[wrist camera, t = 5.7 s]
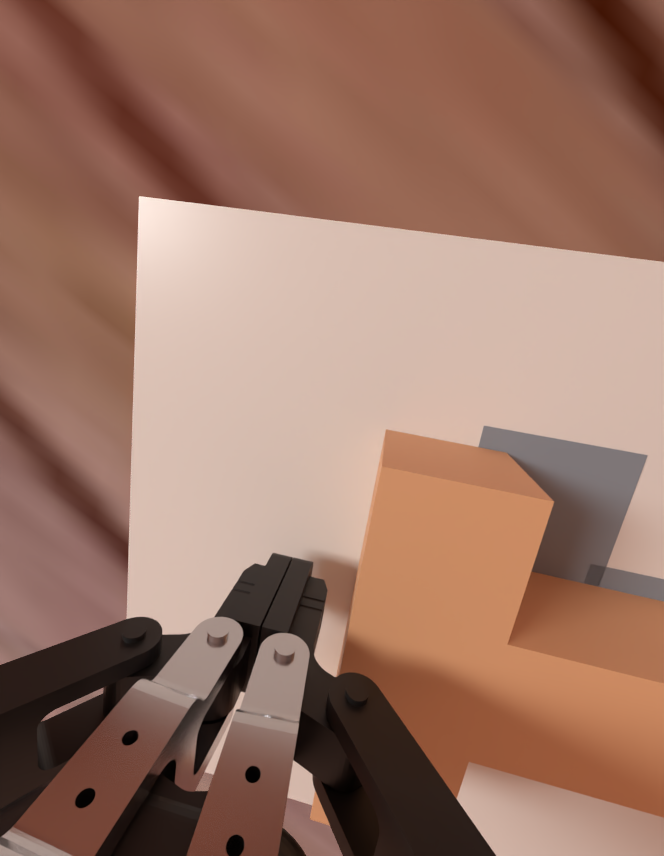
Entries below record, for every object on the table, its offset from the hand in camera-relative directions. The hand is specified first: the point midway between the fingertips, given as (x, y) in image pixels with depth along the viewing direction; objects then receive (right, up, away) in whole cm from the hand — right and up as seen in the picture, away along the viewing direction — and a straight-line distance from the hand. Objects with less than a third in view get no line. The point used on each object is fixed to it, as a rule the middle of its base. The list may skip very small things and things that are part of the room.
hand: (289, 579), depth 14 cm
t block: (+8, -2, 0) cm, 8 cm away
